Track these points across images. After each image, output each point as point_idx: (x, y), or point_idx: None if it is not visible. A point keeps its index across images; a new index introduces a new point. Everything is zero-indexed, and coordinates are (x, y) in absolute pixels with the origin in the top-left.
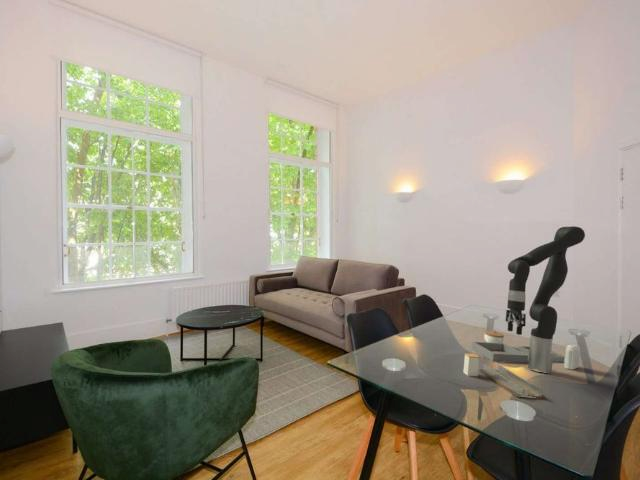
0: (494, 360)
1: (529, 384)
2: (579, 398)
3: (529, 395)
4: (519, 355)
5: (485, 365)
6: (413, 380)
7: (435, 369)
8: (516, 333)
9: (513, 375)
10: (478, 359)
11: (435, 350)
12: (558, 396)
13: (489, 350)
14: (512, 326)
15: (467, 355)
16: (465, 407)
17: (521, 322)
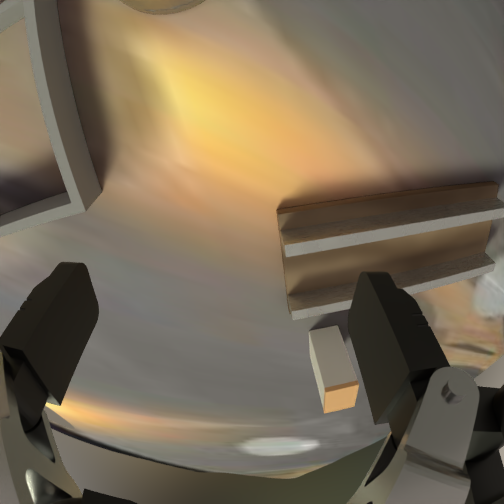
0: (97, 185)
1: (476, 221)
2: (486, 32)
3: (487, 234)
4: (39, 35)
5: (307, 316)
6: (363, 424)
7: (298, 403)
8: (353, 329)
9: (399, 233)
10: (355, 376)
11: (101, 376)
12: (483, 108)
13: (36, 214)
14: (46, 320)
15: (342, 408)
16: (466, 367)
17: (452, 470)
